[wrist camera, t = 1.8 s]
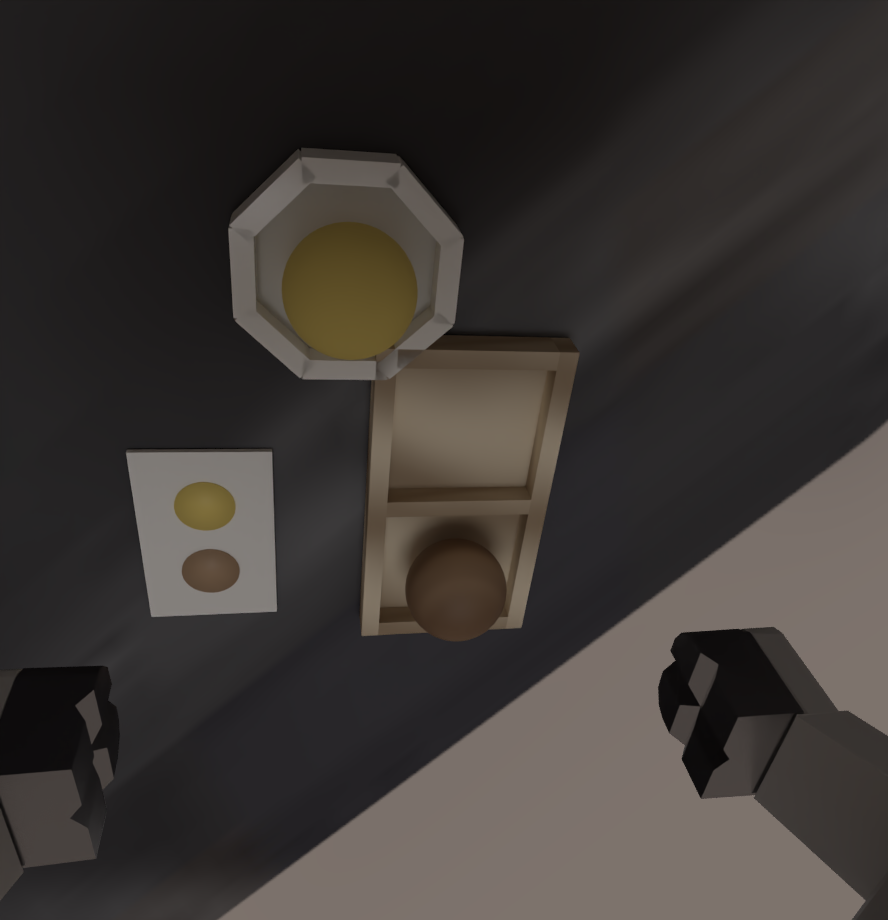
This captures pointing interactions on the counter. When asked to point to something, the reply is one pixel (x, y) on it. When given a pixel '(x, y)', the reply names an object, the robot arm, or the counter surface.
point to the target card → (205, 529)
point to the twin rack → (461, 463)
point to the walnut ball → (455, 589)
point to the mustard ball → (349, 290)
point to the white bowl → (331, 201)
